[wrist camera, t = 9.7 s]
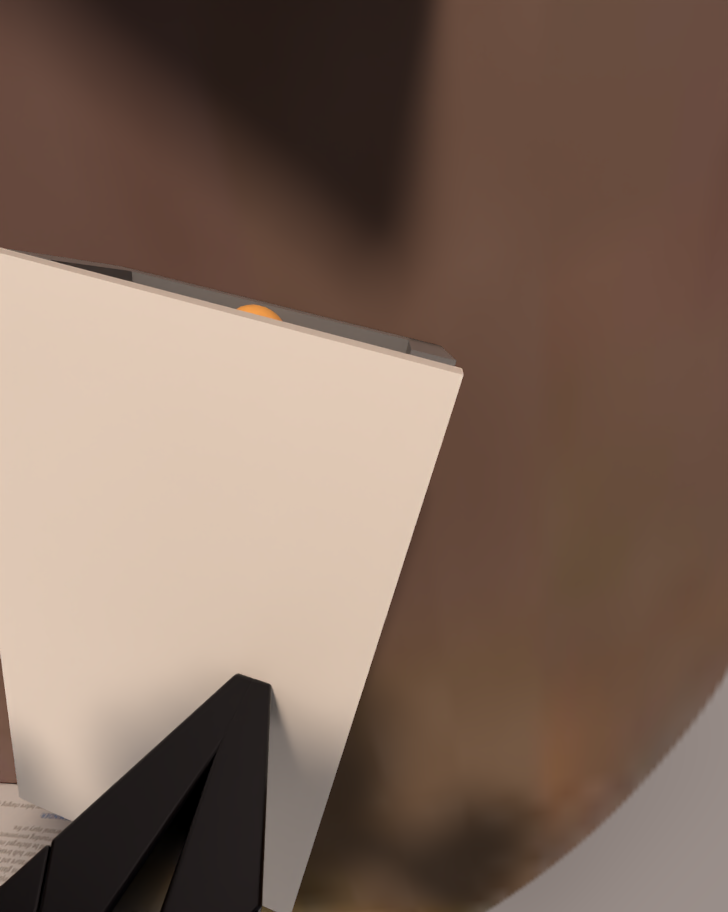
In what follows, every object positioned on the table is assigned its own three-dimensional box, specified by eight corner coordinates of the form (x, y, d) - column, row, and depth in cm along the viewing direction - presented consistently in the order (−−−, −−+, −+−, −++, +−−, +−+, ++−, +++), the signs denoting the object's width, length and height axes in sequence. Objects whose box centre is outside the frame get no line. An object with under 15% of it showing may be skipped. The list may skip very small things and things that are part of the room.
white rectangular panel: (46, 767, 12) (18, 797, 11) (1, 248, 7) (-55, 238, 6) (300, 877, 11) (289, 917, 10) (461, 368, 6) (463, 375, 5)
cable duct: (116, 677, 15) (49, 764, 12) (120, 265, 10) (6, 248, 7) (328, 730, 15) (311, 830, 12) (440, 345, 10) (456, 360, 7)
